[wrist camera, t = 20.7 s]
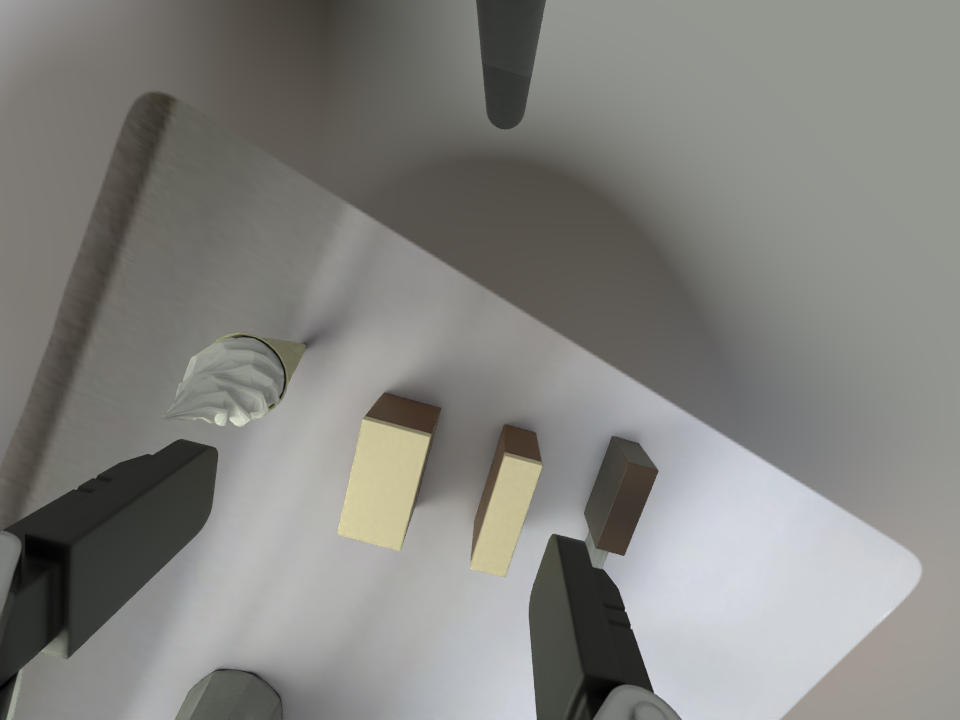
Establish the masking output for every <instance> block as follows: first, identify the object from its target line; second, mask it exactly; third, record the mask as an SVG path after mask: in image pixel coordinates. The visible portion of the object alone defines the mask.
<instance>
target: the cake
mask: <svg viewBox="0 0 960 720" xmlns="http://www.w3.org/2000/svg"><path fill="white" fill-rule="evenodd" d="M440 411H441V408H438V407H434V406H431V405H427V404H423V403H420V402H416V401H412V400H409V399H405V398H401V397H397V396H394V395H390V394H386V393H383V394H382V396H381V397H380V398H379V399H378V401H377V402H376V403H375V404H374V406H373V407H372V408H371V409H370V411H369V412H368V413H367V414H366V416H365V417H364V418H363V420H362V424H361V429H360V433H359V438H358V442H357V447H356V451H355V456H354V460H353V465H352V469H351V474H350V478H349V483H348V487H347V492H346V496H345V501H344V505H343V510H342V514H341V519H340V523H339V528H338V532H337V535H341V536H344V537H348V538H352V539H356V540H360V541H363V542H367V543H371V544H375V545H379V546H382V547H386V548H390V549H394V550H398V551H400V550H401V548H402V545H403V542H404V539H405V536H406V533H407V530H408V527H409V524H410V521H411V517H412V514H413V511H414V508H415V505H416V501H417V497H418V493H419V490H420V486H421V482H422V478H423V475H424V471H425V467H426V463H427V460H428V456H429V452H430V448H431V445H432V441H433V437H434V433H435V430H436V426H437V422H438V418H439V415H440Z"/></svg>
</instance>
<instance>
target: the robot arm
mask: <svg viewBox="0 0 960 720" xmlns="http://www.w3.org/2000/svg"><path fill="white" fill-rule="evenodd" d="M217 462H218V452H217V449H216V448H215V447H212V446H208V445H204V444H200V443H196V442H192V441H188V440H184V439H180V440H177V441H175V442H173V443H172V444H170V445H169V446H167V447H165V448H164V449H162V450H160V451H159V452H157V453H155V454H154V455H150V454H146V455H143V456H140V457H137V458H133V459H130V460H127V461H124V462H120V463H118V464H117V465H115V466H113V467H111V468H110V469H108V470H106V471H105V472H103V473H101V474H99V475H98V476H97V478H96V479H94V478H92V479H91V480H89V481H87V482H86V483H84V484H82V485H80V486H79V487H78V489H77V490H74V489H73V490H72V491H70V492H68V493H66V494H65V495H63V496H61V497H60V498H58V499H56V500H54V501H53V502H51V503H49V504H47V505H46V506H44V507H42V508H41V509H39V510H37V511H35V512H34V513H32V514H30V515H28V516H27V517H25V518H23V519H22V520H20V521H18V522H16V523H15V524H13V525H11V526H9V527H8V528H6V529H4V530H3V531H2V530H0V720H13V716H14V711H15V707H16V703H17V699H18V695H19V691H20V686H21V682H22V667H23V666H25V665H26V664H27V663H28V662H29V661H30V660H31V659H32V658H34V657H35V656H36V655H37V654H38V653H43V654H47V655H52V656H56V657H60V658H64V659H68V658H69V657H70V656H71V655H72V654H73V653H74V652H75V651H76V650H78V649H79V648H80V647H81V646H82V645H83V644H84V643H85V642H86V641H87V640H88V639H89V638H90V637H91V636H92V635H93V634H94V633H95V632H96V631H97V630H98V629H99V628H100V627H101V626H102V625H103V624H105V623H106V622H107V621H108V620H109V619H110V618H111V617H112V616H113V615H114V614H115V613H116V612H117V611H118V610H119V609H120V608H121V607H122V606H123V605H124V604H125V603H126V602H127V601H128V600H129V599H130V598H132V597H133V596H134V595H135V594H136V593H137V592H138V591H139V590H140V589H141V588H142V587H143V586H144V585H145V584H146V583H147V582H148V581H149V580H150V579H151V578H152V577H153V576H154V575H155V574H156V573H157V572H159V571H160V570H161V569H162V568H163V567H164V566H165V565H166V564H167V563H168V562H169V561H170V560H171V559H172V558H173V557H174V556H175V555H176V554H177V553H178V552H179V551H180V550H181V549H182V548H183V547H184V546H185V545H187V544H188V543H189V542H190V541H191V540H192V539H193V538H194V537H195V536H196V535H197V534H198V533H199V532H200V530H201V529H202V528H203V526H204V525H205V523H206V521H207V519H208V517H209V515H210V512H211V509H212V504H213V496H214V487H215V479H216V470H217ZM529 625H530V638H531V650H532V663H533V676H534V688H535V701H536V714H537V720H682V719H681V718H680V717H679V716H678V714H677V713H676V712H675V711H674V710H673V709H672V708H671V707H670V705H668V704H667V703H666V702H665V701H664V700H663V699H661V698H660V697H658V696H657V695H656V694H654V691H653V688H652V685H651V683H650V680H649V677H648V674H647V671H646V668H645V665H644V662H643V659H642V656H641V653H640V651H639V648H638V645H637V642H636V639H635V636H634V633H633V630H632V629H630V626H631V624H630V621H629V619H628V616H627V613H626V612H625V607H624V604H623V601H622V598H621V595H620V592H619V589H618V588H617V586H616V585H615V584H614V582H613V581H612V580H611V578H610V577H609V576H608V575H607V573H606V572H605V571H604V570H603V569H599V568H595V567H593V566H592V563H591V560H590V556H589V553H588V549H587V546H586V543H585V542H584V541H581V540H577V539H573V538H569V537H565V536H561V535H557V534H552V535H551V537H550V539H549V541H548V544H547V547H546V550H545V553H544V555H543V558H542V561H541V564H540V567H539V570H538V573H537V576H536V579H535V581H534V584H533V588H532V591H531V596H530V603H529Z"/></svg>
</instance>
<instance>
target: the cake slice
mask: <svg viewBox="0 0 960 720" xmlns="http://www.w3.org/2000/svg"><path fill="white" fill-rule="evenodd" d="M542 467H543V465H542V461H541V456H540V451H539V446H538V441H537V436H536V433H534V432H531V431H527V430H523V429H520V428H516V427H512V426H509V425H504V426H503V429H502V433H501V436H500V439H499V443H498V446H497V449H496V452H495V456H494V459H493V462H492V465H491V469H490V472H489V475H488V479H487V482H486V485H485V488H484V492H483V495H482V498H481V501H480V505H479V508H478V511H477V514H476V518H475V521H474V530H473V541H472V551H471V562H470V568H471V569H474V570H478V571H482V572H486V573H490V574H493V575H497V576H501V577H506V574H507V571H508V568H509V565H510V562H511V559H512V556H513V553H514V550H515V547H516V544H517V541H518V538H519V535H520V532H521V529H522V526H523V523H524V520H525V517H526V514H527V511H528V508H529V505H530V502H531V499H532V496H533V493H534V490H535V487H536V484H537V481H538V479H539V476H540V473H541V470H542Z"/></svg>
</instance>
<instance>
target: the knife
mask: <svg viewBox="0 0 960 720" xmlns="http://www.w3.org/2000/svg"><path fill="white" fill-rule="evenodd" d="M657 474H658V469H657V468H656V466H655V465H654V463H653V462H652V461H651V459H650V458H649V457H648V455H647V454H646V452H645V451H644V450H643V448H642V447H641V445H640V444H639V443H636V442H632V441H628V440H625V439H621V438H617V437H613V436H612V439H611V441H610V444H609V447H608V449H607V452H606V455H605V458H604V460H603V463H602V466H601V468H600V471H599V474H598V477H597V479H596V482H595V485H594V487H593V490H592V493H591V496H590V498H589V501H588V504H587V506H586V509H585V512H584V515H585V518H586V521H587V524H588V527H589V530H590V531H589V534H588V536H587V539H586V541H585V543H586V546H587V549H588V553H589V556H590V560H591V563H592V566H593V567H595V568H599V569H602V567H603V565H604V562H605V560H606V557H607V555H608V552H611V553H615V554H619V555H623V556H624V555H625V553H626V550H627V548H628V545H629V543H630V540H631V538H632V535H633V533H634V530H635V528H636V526H637V523H638V521H639V518H640V516H641V513H642V511H643V508H644V506H645V503H646V501H647V498H648V496H649V493H650V491H651V488H652V486H653V484H654V481H655V479H656V476H657Z"/></svg>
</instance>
